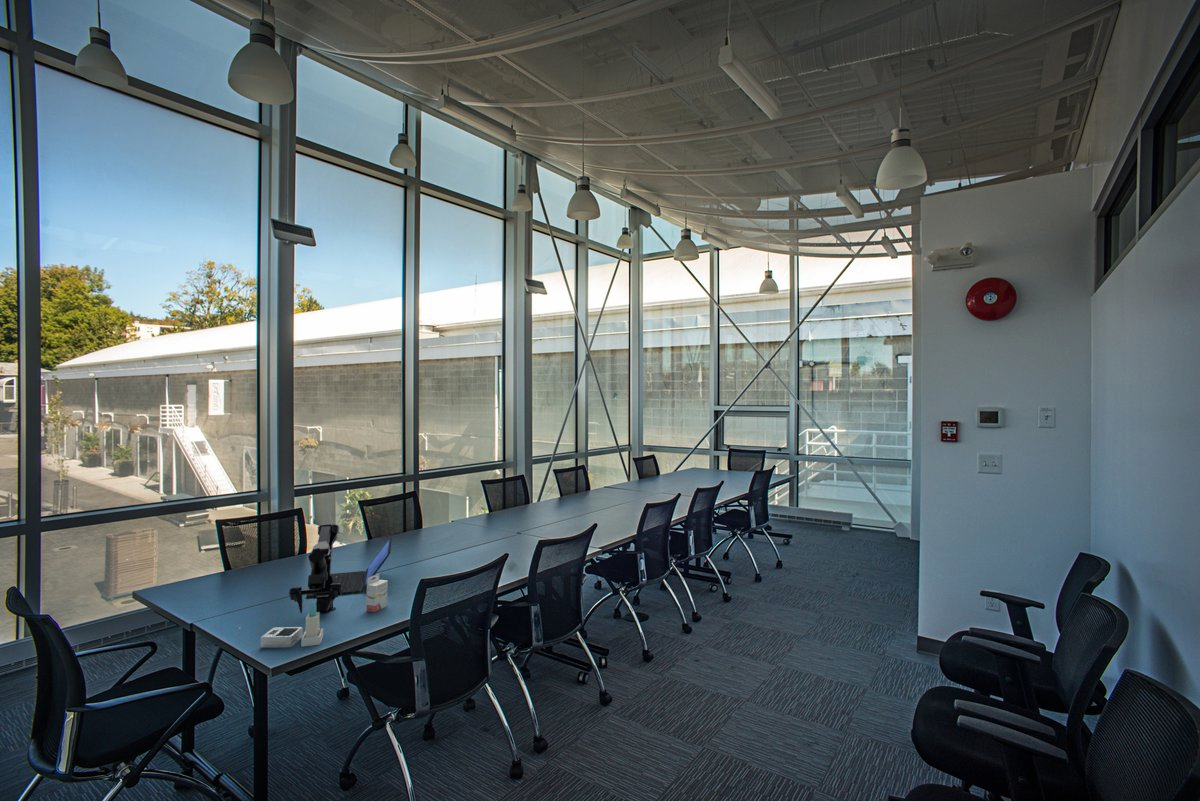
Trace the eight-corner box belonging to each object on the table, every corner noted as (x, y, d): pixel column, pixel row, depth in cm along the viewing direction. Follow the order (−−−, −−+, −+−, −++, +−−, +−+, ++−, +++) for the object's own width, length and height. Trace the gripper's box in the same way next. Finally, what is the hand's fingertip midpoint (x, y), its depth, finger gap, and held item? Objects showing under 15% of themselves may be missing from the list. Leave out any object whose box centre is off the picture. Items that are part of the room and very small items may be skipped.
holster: (323, 635, 226) (323, 628, 226) (320, 644, 218) (320, 636, 218) (305, 637, 224) (305, 630, 224) (301, 646, 216) (301, 638, 216)
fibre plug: (319, 637, 225) (319, 601, 225) (317, 643, 219) (317, 607, 219) (308, 638, 223) (308, 603, 223) (305, 645, 218) (305, 608, 218)
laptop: (316, 578, 299) (316, 541, 299) (392, 571, 311) (392, 536, 311) (305, 599, 268) (305, 558, 268) (390, 591, 280) (390, 552, 280)
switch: (302, 637, 225) (302, 626, 225) (290, 647, 215) (290, 636, 215) (273, 637, 224) (273, 627, 224) (260, 647, 215) (260, 636, 215)
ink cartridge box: (375, 612, 251) (375, 579, 251) (366, 611, 252) (366, 578, 252) (388, 605, 259) (388, 573, 259) (378, 604, 260) (378, 572, 260)
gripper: (290, 567, 226) (284, 604, 216) (341, 563, 232) (338, 599, 222) (293, 581, 234) (288, 617, 223) (343, 577, 240) (340, 612, 229)
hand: (313, 611), depth 224 cm, fingers open, 9 cm apart
